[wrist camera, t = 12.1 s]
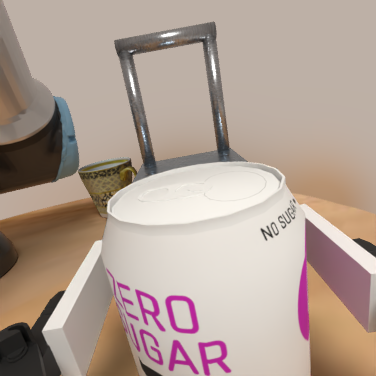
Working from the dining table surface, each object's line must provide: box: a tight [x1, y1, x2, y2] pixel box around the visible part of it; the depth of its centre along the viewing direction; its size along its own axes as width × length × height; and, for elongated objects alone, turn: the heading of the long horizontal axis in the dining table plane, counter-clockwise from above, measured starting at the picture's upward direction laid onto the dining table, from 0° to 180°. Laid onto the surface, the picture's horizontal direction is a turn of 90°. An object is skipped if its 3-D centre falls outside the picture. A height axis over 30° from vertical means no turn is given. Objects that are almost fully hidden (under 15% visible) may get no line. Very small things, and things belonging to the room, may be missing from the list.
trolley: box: [114, 22, 247, 183], centre depth 26 cm, size 22×12×26 cm, turn 3°
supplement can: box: [101, 162, 311, 376], centre depth 13 cm, size 8×8×15 cm
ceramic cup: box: [78, 157, 137, 218], centre depth 50 cm, size 13×10×10 cm
